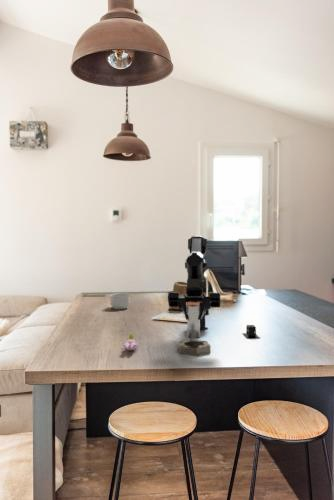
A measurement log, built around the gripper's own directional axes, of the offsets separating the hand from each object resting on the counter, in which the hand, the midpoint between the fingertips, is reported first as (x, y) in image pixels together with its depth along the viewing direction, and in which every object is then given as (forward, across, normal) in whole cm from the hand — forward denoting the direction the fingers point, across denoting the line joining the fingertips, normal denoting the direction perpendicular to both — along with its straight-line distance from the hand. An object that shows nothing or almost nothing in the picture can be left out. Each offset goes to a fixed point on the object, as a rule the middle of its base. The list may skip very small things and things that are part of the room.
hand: (193, 319), depth 149 cm
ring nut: (+7, 0, +9) cm, 11 cm away
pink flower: (+8, -22, +9) cm, 25 cm away
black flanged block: (-10, +22, +27) cm, 36 cm away
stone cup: (-53, -12, +70) cm, 89 cm away
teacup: (-52, -46, +69) cm, 98 cm away
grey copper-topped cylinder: (+4, 0, +6) cm, 7 cm away
